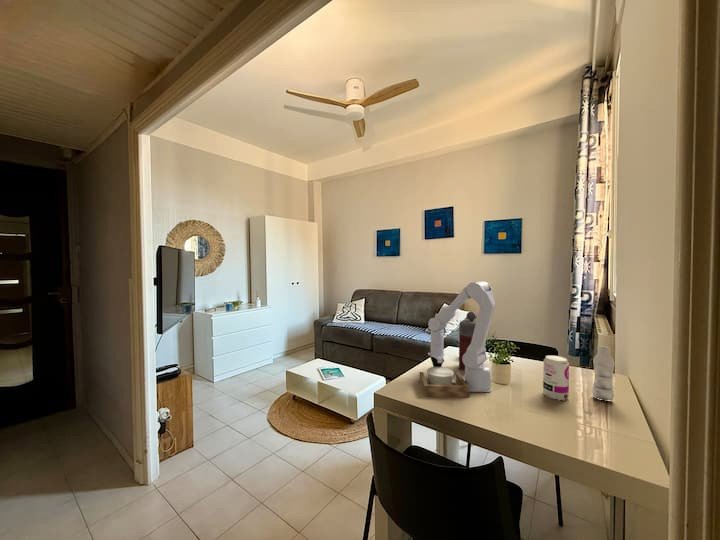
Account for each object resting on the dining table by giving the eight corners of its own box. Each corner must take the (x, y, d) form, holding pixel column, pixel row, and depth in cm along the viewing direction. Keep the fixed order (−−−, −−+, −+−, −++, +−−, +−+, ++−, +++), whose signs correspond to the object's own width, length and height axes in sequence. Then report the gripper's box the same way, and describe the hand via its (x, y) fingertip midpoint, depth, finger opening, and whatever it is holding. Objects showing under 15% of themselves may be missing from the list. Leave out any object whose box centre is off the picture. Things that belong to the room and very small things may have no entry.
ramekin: (437, 390, 122) (437, 377, 122) (421, 380, 132) (421, 368, 132) (459, 385, 126) (459, 373, 126) (442, 376, 136) (442, 365, 136)
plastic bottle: (610, 397, 115) (611, 346, 114) (616, 405, 109) (618, 351, 108) (589, 394, 118) (591, 344, 117) (594, 402, 112) (596, 348, 111)
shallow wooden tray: (459, 381, 130) (459, 372, 130) (469, 397, 116) (469, 386, 116) (419, 380, 132) (419, 371, 131) (424, 396, 117) (424, 385, 117)
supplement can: (570, 396, 117) (570, 357, 116) (566, 403, 111) (567, 363, 110) (545, 389, 122) (546, 353, 122) (540, 396, 116) (541, 358, 116)
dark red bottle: (484, 366, 149) (485, 310, 148) (477, 373, 140) (478, 313, 139) (466, 363, 154) (466, 308, 153) (458, 369, 145) (459, 311, 144)
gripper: (425, 339, 143) (425, 367, 144) (430, 348, 129) (430, 379, 129) (440, 339, 143) (440, 367, 143) (447, 348, 128) (447, 380, 129)
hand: (436, 373), depth 136 cm, fingers closed
